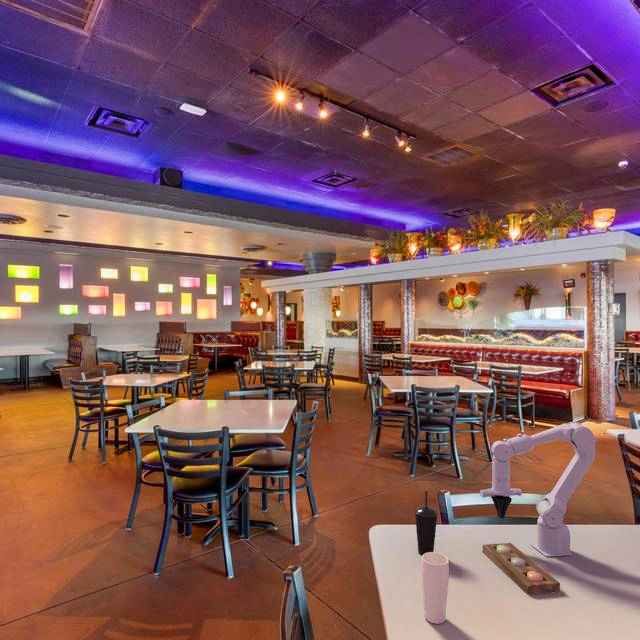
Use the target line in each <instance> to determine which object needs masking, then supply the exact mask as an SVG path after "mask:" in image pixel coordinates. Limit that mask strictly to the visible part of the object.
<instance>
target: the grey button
mask: <svg viewBox="0 0 640 640" xmlns="http://www.w3.org/2000/svg"><path fill="white" fill-rule="evenodd" d="M511 564H513V565H514V566H515V567H524V566H525V561H524V560H523V559H521V558H517V557H514V558H511Z"/></svg>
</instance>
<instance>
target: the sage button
mask: <svg viewBox="0 0 640 640" xmlns="http://www.w3.org/2000/svg"><path fill="white" fill-rule="evenodd" d="M497 551H498V552H499V553H500V554H506V553H510V548H509V547H507V546H504V545H498V546H497Z"/></svg>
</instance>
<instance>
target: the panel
mask: <svg viewBox="0 0 640 640" xmlns="http://www.w3.org/2000/svg"><path fill="white" fill-rule="evenodd" d="M498 545H504V546H507V547H509V548H510V553H506V554H500V553H499V552H498V551H497V546H498ZM482 554H484V556H486V557H487V558H488V559H489V560H490V561H491V562H492V563H493V564H494V565H495V566H496V567H497V568H499V570H501V572H503V573H504V574H505V575H506V576H507V577H508V578H509V579H510V580H511V581H512V582H513V583H515V584H516V586H518V587H519V588H520V589H521V590H522V591H523V592H524V593H525V594H526V595H527V596H529V595H530V596H531V595H541V594H552V592H555V593H560V592H561V582H560V581H558V580H557V579H556V578H554V577H553V576H552V575H551V574H550V573H548V572H547V571H546V570H545V569H544V568H542V567H541V566H540V565H538V564H537V563H536V562H535V561H533V560H532V559H531V558H530V557H528V556H527V555H526V553H525V554H524V552H522V551H521V550H520V549H519V548H517V547H516V546H515V545H514V544H512V543H511V542H504V543H503V542H502V543H501V542H500V543H490V544H489V543H487V544H482ZM514 557H517V558H521V559H523V560H524V561H525V566H524V567H515V566H514V565H513V564H511V558H514ZM529 571H535V572H538V573H540V574H541V575H542V576H543V581H539V582H532V581H531V580H530V579H528V578H527V572H529Z"/></svg>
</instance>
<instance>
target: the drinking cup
mask: <svg viewBox="0 0 640 640" xmlns="http://www.w3.org/2000/svg"><path fill="white" fill-rule="evenodd" d="M424 494H425V495H424V505H421V506H417V507H415V508H414V509H413V510H414V511H413V513H414V515H415V517H414V518H415V526H416V527H415V528H416V541H417V552H418V554H419V555H420V556H421V557H422V556H423V554H425V553H428V552H435V551H434V549H435V541H436V529H437V520H438V515H439V511H438V510H437V509H435V508H433V507H431V506H428V491H427V490H425V492H424Z"/></svg>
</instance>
